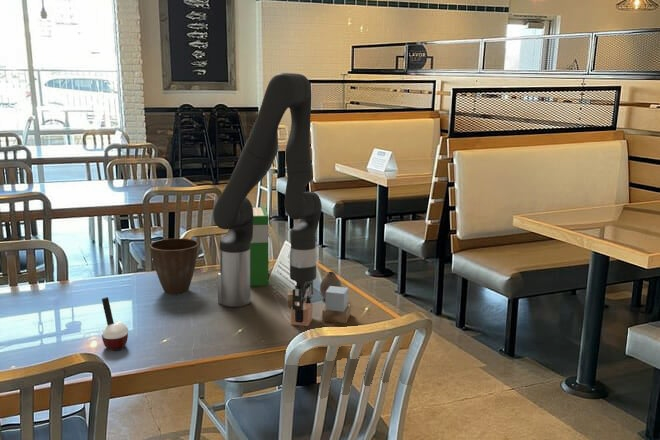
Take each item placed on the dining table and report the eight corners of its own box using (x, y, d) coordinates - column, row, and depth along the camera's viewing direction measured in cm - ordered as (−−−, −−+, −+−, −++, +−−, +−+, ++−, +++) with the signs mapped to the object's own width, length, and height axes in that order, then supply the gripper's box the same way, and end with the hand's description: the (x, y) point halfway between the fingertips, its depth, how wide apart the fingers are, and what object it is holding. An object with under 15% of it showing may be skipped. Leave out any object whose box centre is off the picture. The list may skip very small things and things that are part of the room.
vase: (339, 303, 195) (339, 277, 193) (317, 301, 197) (318, 275, 195) (343, 296, 202) (343, 270, 200) (322, 294, 203) (322, 268, 201)
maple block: (287, 307, 192) (287, 294, 191) (286, 302, 195) (286, 290, 195) (300, 306, 192) (300, 294, 191) (299, 302, 196) (299, 290, 195)
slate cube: (325, 309, 181) (325, 291, 180) (329, 303, 186) (330, 285, 185) (343, 311, 180) (344, 293, 179) (347, 305, 185) (348, 287, 184)
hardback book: (243, 270, 227) (242, 205, 221) (263, 269, 228) (263, 205, 223) (246, 286, 210) (245, 216, 204) (268, 285, 211) (268, 216, 206)
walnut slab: (322, 321, 182) (322, 310, 181) (327, 313, 188) (327, 302, 187) (345, 324, 180) (346, 312, 179) (350, 315, 187) (350, 304, 186)
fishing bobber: (129, 353, 158) (129, 309, 155) (103, 356, 156) (102, 311, 153) (126, 337, 167) (125, 295, 164) (101, 339, 164) (100, 297, 161)
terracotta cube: (291, 324, 178) (291, 308, 177) (295, 318, 183) (295, 302, 182) (307, 326, 177) (308, 309, 176) (312, 319, 182) (312, 303, 181)
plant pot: (142, 294, 199) (140, 246, 195) (170, 281, 212) (169, 236, 209) (181, 302, 193) (179, 252, 190) (208, 288, 207) (207, 241, 203)
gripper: (296, 254, 184) (296, 307, 187) (283, 268, 170) (283, 324, 174) (321, 256, 182) (321, 309, 186) (310, 270, 169) (309, 327, 172)
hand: (303, 316), depth 180 cm, fingers open, 8 cm apart
